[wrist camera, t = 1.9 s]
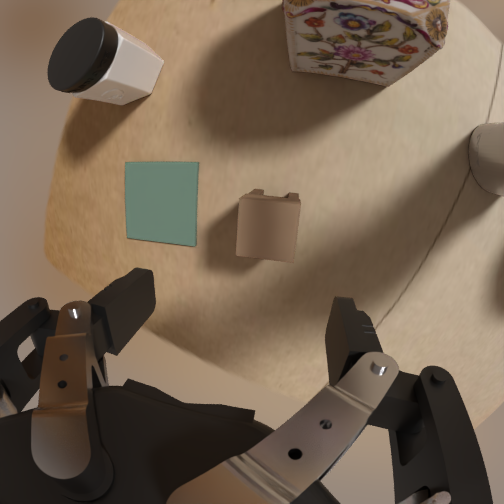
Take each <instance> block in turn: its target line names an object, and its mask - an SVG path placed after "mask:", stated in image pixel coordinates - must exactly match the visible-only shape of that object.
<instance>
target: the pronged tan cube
mask: <svg viewBox="0 0 504 504" xmlns="http://www.w3.org/2000/svg"><path fill="white" fill-rule="evenodd" d="M263 193H264V190H260V189H254V190H253V191H251V192H250V193H249V194H245V195H243V196H242V197H240V198H239V210H238V226H237V242H236V256H243V257H251V258H259V259H266V260H274V261H282V262H290V263H293V262H294V255H295V247H296V240H297V232H298V224H299V216H300V208H301V202H300V199H299V195H298V194H297V193H289V197H288V198H283V197H274V196H265V195H263Z"/></svg>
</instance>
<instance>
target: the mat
mask: <svg viewBox="0 0 504 504" xmlns="http://www.w3.org/2000/svg"><path fill="white" fill-rule="evenodd" d="M198 171H199V162H125V205H126V228H127V238H133V239H141V240H148V241H156V242H164V243H172V244H180V245H188V246H196V235H197V194H198Z"/></svg>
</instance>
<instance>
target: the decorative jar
mask: <svg viewBox="0 0 504 504" xmlns="http://www.w3.org/2000/svg"><path fill="white" fill-rule="evenodd" d="M449 6H450V0H283V2H282V10H283V12H284V14H285V24H286V36H287V45H288V54H289V62H290V68H291V70H292V71H299V72H309V73H317V74H324V75H331V76H338V77H344V78H349V79H354V80H359V81H364V82H369V83H374V84H378V85H383V86H387V87H389V86H390V85H392V84H393V83H395V82H396V81H398V80H399V79H401V78H402V77H404V76H405V75H407V74H408V73H410V72H411V71H413V70H414V69H415V68H416V67H418V66H419V65H420V64H422V63H423V62H424V61H426V60H427V59H428V58H429V57H431V56H432V55H433V54H434V53H436V52H437V51H438V50H439V49H442V48H443V46H444V44H445V37H446V35H447V29H448V14H449V8H450V7H449Z"/></svg>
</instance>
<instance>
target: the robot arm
mask: <svg viewBox="0 0 504 504" xmlns="http://www.w3.org/2000/svg"><path fill="white" fill-rule="evenodd" d="M469 161H470V166H471V170H472V173H473V175H474V177H475V179H476V181H477V182H478V184H479V185H480V186H481V187H482V188H483V189H484V190H486V191H488V192H491V193H494V194H497V195H500V196H504V122H501V123H489V124H482V125H480V126H478V127H477V128H476V129H475V130H474V132H473V133H472V135H471V139H470V143H469ZM155 305H156V298H155V288H154V276H153V272H152V271H151V270H148V269H142V268H134V269H133V270H132V271H130V272H129V273H128V274H127V275H125V276H123V277H121V278H118V279H116V280H115V281H113V282H112V283H111V284H109V286H107V287H106V288H104V290H102V291H100V292H99V293H98V294H97V295H95V296H94V297H93V298H92V299H90V300H89V301H88V302H85V301H73V302H69V303H67V304H65V305H64V306H63V307H62V308H61V309H60V311H58V310H50V309H49V306H48V303H47V300H46V299H44V298H40V297H37V298H32V299H29V300H27V301H26V302H24V303H23V304H22V305H20V306H19V307H18V308H16V309H15V310H14V311H13V312H11V313H10V314H9V315H7V316H6V317H5V318H4V319H3V320H1V321H0V504H340V503H339V502H338V500H337V499H336V498H335V497H334V496H333V495H332V494H331V493H330V492H329V491H328V489H327V488H326V487H325V486H324V485H323V484H322V483H321V480H322V479H323V478H324V477H325V476H326V475H327V474H328V473H329V472H330V471H331V469H332V468H333V467H334V466H335V465H336V464H337V462H338V461H339V460H340V459H341V458H342V456H343V455H344V454H345V453H346V452H347V450H348V449H349V448H350V447H351V446H352V444H353V443H354V442H355V440H356V439H357V438H358V436H359V435H360V434H361V432H362V431H363V430H364V429H365V427H366V426H367V425H372V426H377V427H381V428H385V429H388V431H389V438H390V446H391V455H392V465H393V477H394V491H395V504H493V501H492V495H491V490H490V485H489V481H488V477H487V472H486V468H485V465H484V461H483V457H482V454H481V451H480V447H479V444H478V441H477V438H476V435H475V432H474V429H473V426H472V423H471V421H470V418H469V415H468V413H467V410H466V408H465V405H464V403H463V400H462V398H461V395H460V393H459V391H458V388H457V386H456V384H455V381H454V379H453V377H452V376H451V374H450V373H449V372H448V371H446V370H445V369H443V368H441V367H438V366H427V367H425V368H424V369H423V370H422V371H421V373H420V375H419V376H418V375H414V374H409V373H405V372H402V371H399V366H398V364H397V362H396V361H395V360H394V359H393V358H392V357H390V356H389V355H387V354H384V353H383V350H382V348H381V345H380V342H379V340H378V337H377V334H375V333H376V332H375V329H374V327H373V324H372V321H371V319H370V317H369V316H368V315H367V314H366V313H365V312H364V311H359V310H357V309H356V306H355V303H354V300H353V298H345V297H335V298H334V301H333V305H332V309H331V313H330V316H329V320H328V324H327V328H326V334H325V345H326V354H327V363H328V373H329V385H327V386H326V387H325V388H323V389H322V390H321V391H320V392H319V393H318V394H317V395H316V396H315V397H314V398H313V399H312V400H311V401H309V402H308V403H307V404H306V405H305V406H304V407H303V408H302V409H300V410H299V411H298V412H297V413H296V414H295V415H293V416H292V417H291V418H290V419H289V420H287V421H286V422H285V423H284V424H283V425H281V426H280V427H279V428H278V429H276V430H273V429H272V428H270V427H269V426H267V425H265V424H263V423H261V422H258V421H256V420H254V415H255V410H249V409H243V408H237V407H232V406H227V405H222V404H191V403H183V402H181V401H179V400H177V399H175V398H173V397H171V396H170V395H168V394H166V393H164V392H162V391H161V390H159V389H157V388H155V387H152V386H149V385H145V384H143V383H139V382H136V381H134V380H131V379H127V381H126V382H125V384H124V385H123V386H109V384H108V377H107V370H106V360H105V357H104V354H105V353H106V352H108V353H111V354H114V355H116V356H117V355H118V354H119V353H120V351H121V350H122V349H123V348H124V346H125V345H126V344H127V343H128V342H129V340H130V339H131V338H132V337H133V336H134V334H135V333H136V332H137V331H138V330H139V329H140V327H141V326H142V325H143V324H144V323H145V321H146V320H147V319H148V318H149V317H150V316H151V314H152V313H153V311H154V309H155ZM29 336H31V339H32V341H33V344H34V346H35V349H34V350H33V351H32V352H31V353H30V354H29V355H28V356H27V357H26V358H25V359H24V360H23V361H22V362H20V360H19V358H18V355H17V350H18V347H19V345H20V344H21V343H22V342H23V341H24V340H26V339H27V338H28V337H29ZM38 389H40V390H39V400H38V407H37V408H34V409H30V410H27V411H23V412H21V411H22V410H23V408H24V407H25V406H26V404H27V403H28V402H29V401H30V399H31V398H32V397H33V396H34V394H35V393H36V392H37V391H38Z"/></svg>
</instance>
